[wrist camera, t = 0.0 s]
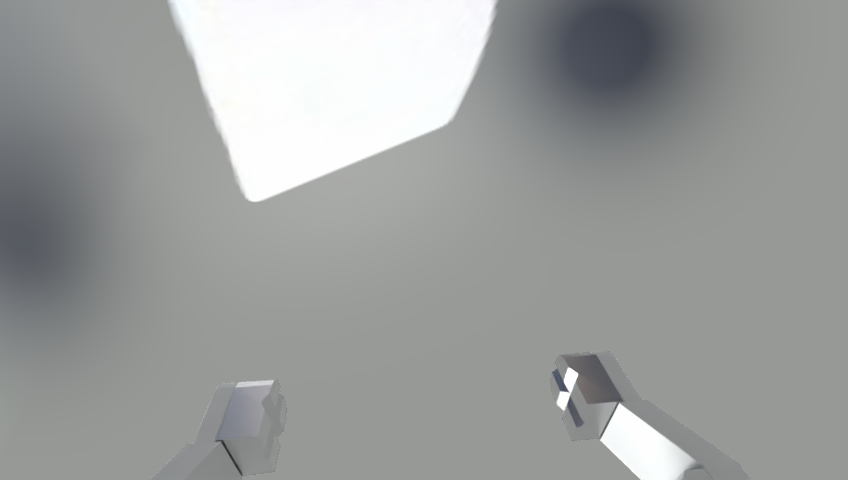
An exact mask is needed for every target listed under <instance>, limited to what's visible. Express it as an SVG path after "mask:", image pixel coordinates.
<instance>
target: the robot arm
mask: <svg viewBox="0 0 848 480" xmlns="http://www.w3.org/2000/svg"><path fill="white" fill-rule="evenodd" d="M555 364H556V366H557V369H555V370H554V371H553V372H552V374H551V378H550V383H551V391H552V395H553V398H554V400H555V403H556V404H557V405H558V406H559V407H560V408H562V409H563V410H564V414H563V418H562V419H563V421H564V424H565V426H566V428H567V430H568V433H569V435H570V437H571V440H572V441H577V440H590V439H601V440H600V441H602V442H603V443H604V444H605V445H606V446H607V447H608V448H609V449H610V450H611V451H612V452H613V453H614V454H615V455H616V456H617V457H618V458H619V459H620V460H621V461H622V462H623V463H624V464H625V465H626V466H627V467H628V468H629V469H630V470H631V471H632V472H633V473H634V474H636V475H637V476H638V477H639V478H640V479H641V480H751V478H750V477H749V476H748V474H747V473H746V472H745V470H744V469H743V468H742V466H741V465H740V464H739V463H738V462H736V461H735V460H734V459H732V458H731V457H729V456H728V455H727V454H725V453H724V452H722V451H721V450H719V449H718V448H716V447H715V446H714V445H712V444H711V443H709V442H708V441H706V440H705V439H703V438H702V437H700V436H699V435H698V434H696V433H695V432H693V431H692V430H690V429H689V428H688V427H686V426H685V425H683V424H682V423H680V422H679V421H677V420H676V419H675V418H673V417H672V416H670V415H669V414H667V413H666V412H664V411H663V410H662V409H660V408H659V407H657V406H656V405H654V404H653V403H651V402H650V401H648V400H642V398H641V397H640V395H639V394H638V392H637V391H636V389H635V388H634V386H633V385H632V383H631V382H630V380H629V378H628V377H627V375H626V374H625V372H624V371H623V369H622V368H621V366H620V365H619V363H618V362H617V360H616V358H615V357H614V356H613V354H612V353H611V352H610V351H599V352H584V353H574V354H565V355H559V356H558V357H557V358H556V361H555ZM279 390H280V384H279V382H278V380H264V381H250V382H234V383H222V384H219V385H218V387H217V388H216V389H215V391H214V393H213V396H212V398H211V401H210V403H209V405H208V408H207V410H206V412H205V415H204V417H203V420H202V422H201V425H200V427H199V430H198V432H197V434H196V437H195V439H194V441H193V444H187V445H186V446H185V447H184V448H182V449H181V450H180V451H179V452H178V453H177V454H176V455H175V456H174V457H173V458H172V459H171V460H170V461H169V462H168V463H167V464H166V465H165V466H164V467H163V468H162V469H161V470H160V471H159V472H158V473H157V474H156V475H155V476H154V477H152V478H151V479H150V480H242V476H247V475H256V474H263V473H271V472H275V469H276V464H277V460H278V455H279V451H280V444H279V442H278V439H277V438H278V437H279V435H280V434H281V433H282V432H283V431H284V428H285V423H286V413H287V407H286V401H285V398H284V396H283V395H281V394H280V393H279Z"/></svg>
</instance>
